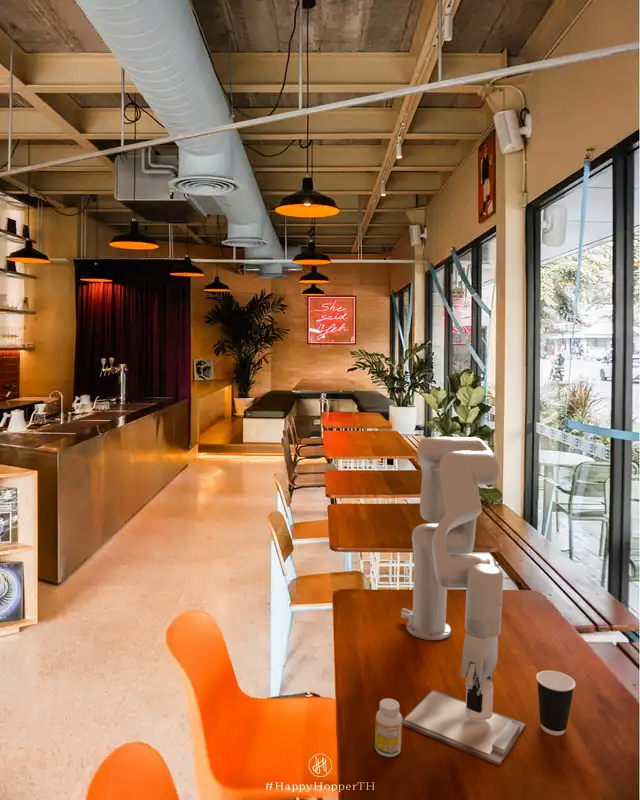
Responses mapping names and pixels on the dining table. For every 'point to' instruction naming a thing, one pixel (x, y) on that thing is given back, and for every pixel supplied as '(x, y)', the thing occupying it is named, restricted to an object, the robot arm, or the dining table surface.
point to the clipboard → (464, 727)
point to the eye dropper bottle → (486, 702)
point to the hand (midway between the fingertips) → (479, 703)
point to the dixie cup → (554, 700)
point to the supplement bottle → (388, 728)
